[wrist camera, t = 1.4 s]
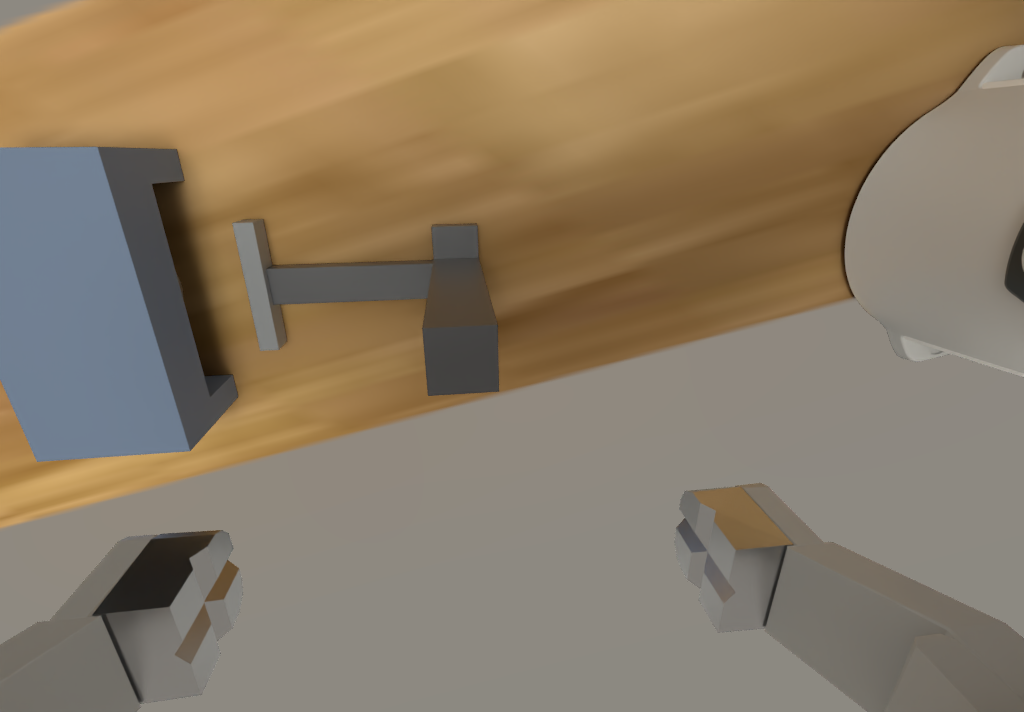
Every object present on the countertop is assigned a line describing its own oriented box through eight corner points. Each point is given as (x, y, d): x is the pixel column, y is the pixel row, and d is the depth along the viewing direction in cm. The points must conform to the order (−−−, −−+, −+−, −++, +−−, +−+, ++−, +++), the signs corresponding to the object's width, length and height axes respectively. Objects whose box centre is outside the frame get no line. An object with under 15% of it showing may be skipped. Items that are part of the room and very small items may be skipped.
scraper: (476, 214, 27) (496, 257, 16) (480, 331, 30) (500, 445, 18) (243, 219, 26) (70, 271, 14) (269, 341, 29) (141, 471, 17)
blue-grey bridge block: (176, 149, 25) (97, 146, 19) (238, 397, 30) (190, 451, 24) (24, 150, 24) (-104, 148, 18) (115, 404, 29) (37, 461, 24)
